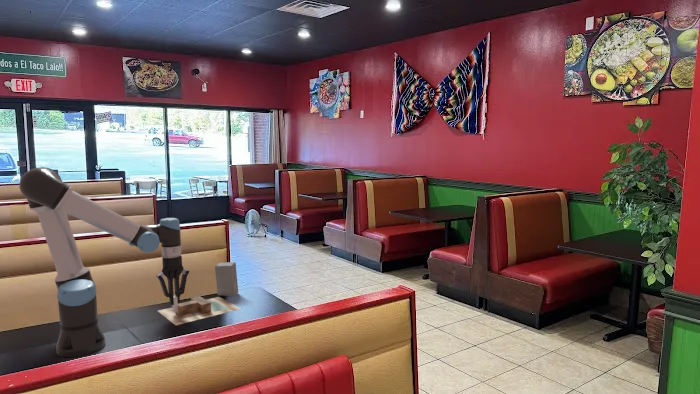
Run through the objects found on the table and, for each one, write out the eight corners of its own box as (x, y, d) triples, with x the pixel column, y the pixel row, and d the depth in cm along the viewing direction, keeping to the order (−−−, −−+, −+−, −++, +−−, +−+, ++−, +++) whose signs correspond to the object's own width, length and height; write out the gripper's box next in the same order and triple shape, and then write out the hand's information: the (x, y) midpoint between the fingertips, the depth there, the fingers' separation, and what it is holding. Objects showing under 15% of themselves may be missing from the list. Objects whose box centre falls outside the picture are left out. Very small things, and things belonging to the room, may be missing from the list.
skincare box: (238, 293, 228) (237, 261, 226) (233, 298, 221) (232, 265, 219) (221, 293, 229) (220, 261, 227) (216, 298, 221) (214, 265, 220)
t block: (182, 318, 192) (181, 309, 191) (172, 311, 201) (171, 302, 201) (211, 311, 200) (210, 302, 199) (200, 304, 209) (199, 296, 208)
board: (175, 328, 185) (175, 325, 185) (157, 313, 202) (157, 310, 202) (241, 311, 203) (241, 308, 203) (219, 299, 220) (219, 296, 220)
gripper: (158, 260, 186) (162, 318, 189) (191, 254, 194) (194, 310, 197) (152, 257, 192) (156, 313, 195) (184, 251, 200) (187, 305, 203)
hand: (175, 311), depth 196 cm, fingers closed
